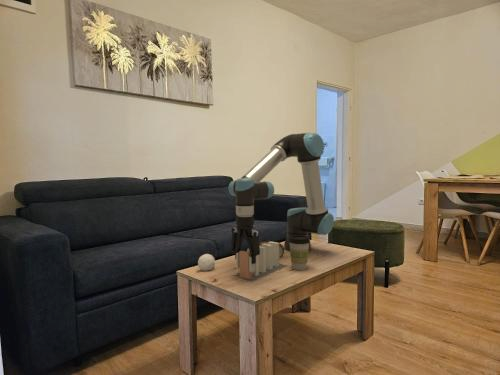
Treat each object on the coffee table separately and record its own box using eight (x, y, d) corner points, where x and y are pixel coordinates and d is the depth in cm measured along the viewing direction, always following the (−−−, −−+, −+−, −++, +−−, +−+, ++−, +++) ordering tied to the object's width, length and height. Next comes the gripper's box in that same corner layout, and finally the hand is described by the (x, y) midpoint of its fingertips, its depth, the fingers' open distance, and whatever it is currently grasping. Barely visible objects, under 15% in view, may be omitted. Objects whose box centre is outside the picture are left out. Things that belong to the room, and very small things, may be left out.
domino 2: (250, 272, 148) (249, 247, 147) (258, 274, 145) (258, 249, 144) (247, 273, 147) (247, 248, 146) (256, 275, 144) (256, 250, 143)
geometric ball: (210, 275, 155) (220, 260, 156) (204, 274, 148) (215, 259, 149) (198, 265, 158) (208, 251, 159) (192, 264, 150) (202, 249, 151)
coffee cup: (293, 274, 148) (293, 240, 146) (285, 267, 157) (285, 235, 156) (313, 271, 151) (314, 238, 149) (304, 265, 160) (304, 234, 159)
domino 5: (270, 264, 160) (270, 241, 159) (279, 266, 156) (279, 242, 155) (268, 264, 158) (268, 242, 157) (276, 267, 155) (276, 243, 154)
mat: (269, 262, 164) (269, 261, 164) (288, 267, 157) (288, 265, 157) (232, 277, 144) (232, 275, 144) (252, 283, 137) (252, 281, 137)
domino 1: (242, 275, 144) (242, 250, 143) (251, 277, 141) (251, 252, 140) (239, 276, 143) (239, 251, 142) (248, 279, 140) (248, 253, 139)
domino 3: (257, 269, 152) (257, 245, 151) (265, 271, 149) (265, 247, 148) (254, 270, 151) (254, 246, 150) (263, 272, 147) (263, 248, 146)
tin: (284, 257, 172) (284, 241, 172) (284, 259, 169) (284, 243, 168) (255, 257, 174) (254, 241, 173) (254, 259, 171) (254, 242, 170)
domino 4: (263, 266, 156) (263, 243, 155) (272, 268, 153) (272, 245, 152) (261, 267, 154) (261, 244, 154) (270, 269, 151) (270, 245, 150)
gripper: (221, 214, 143) (222, 266, 145) (257, 219, 131) (257, 276, 133) (233, 212, 149) (234, 262, 151) (269, 216, 136) (269, 271, 138)
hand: (245, 269), depth 142 cm, fingers open, 7 cm apart
